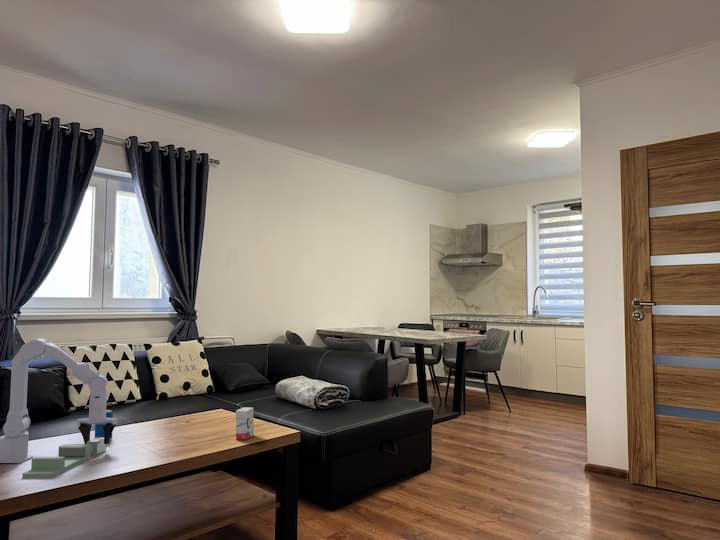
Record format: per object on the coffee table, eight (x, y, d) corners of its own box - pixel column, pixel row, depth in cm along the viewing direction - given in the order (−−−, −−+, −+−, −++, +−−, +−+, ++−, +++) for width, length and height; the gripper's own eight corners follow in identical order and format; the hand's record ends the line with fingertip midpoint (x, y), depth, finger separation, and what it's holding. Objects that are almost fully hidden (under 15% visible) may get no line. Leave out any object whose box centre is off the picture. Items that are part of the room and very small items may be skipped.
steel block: (86, 455, 183) (86, 441, 183) (95, 450, 189) (96, 437, 189) (96, 455, 182) (97, 441, 183) (105, 450, 188) (106, 437, 189)
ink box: (246, 440, 201) (246, 411, 202) (234, 440, 202) (235, 411, 203) (254, 435, 209) (254, 407, 210) (243, 434, 210) (243, 406, 211)
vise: (22, 478, 158) (23, 462, 158) (62, 459, 178) (62, 445, 178) (52, 478, 158) (53, 462, 158) (88, 459, 177) (89, 445, 178)
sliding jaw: (56, 457, 175) (57, 447, 175) (63, 453, 179) (64, 444, 179) (84, 457, 175) (84, 447, 175) (90, 453, 178) (90, 444, 179)
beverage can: (107, 442, 199) (108, 412, 200) (91, 442, 199) (92, 413, 200) (115, 438, 206) (115, 409, 207) (99, 438, 206) (100, 409, 207)
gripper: (72, 409, 183) (71, 446, 182) (110, 409, 183) (109, 446, 182) (84, 405, 190) (83, 441, 189) (120, 405, 190) (119, 441, 189)
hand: (96, 443), depth 186 cm, fingers open, 7 cm apart
